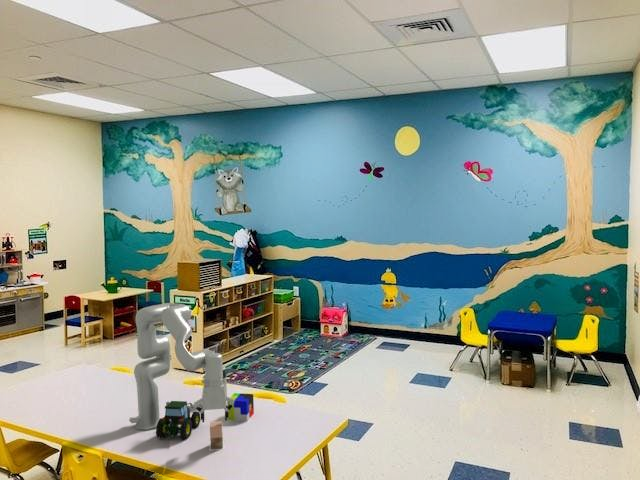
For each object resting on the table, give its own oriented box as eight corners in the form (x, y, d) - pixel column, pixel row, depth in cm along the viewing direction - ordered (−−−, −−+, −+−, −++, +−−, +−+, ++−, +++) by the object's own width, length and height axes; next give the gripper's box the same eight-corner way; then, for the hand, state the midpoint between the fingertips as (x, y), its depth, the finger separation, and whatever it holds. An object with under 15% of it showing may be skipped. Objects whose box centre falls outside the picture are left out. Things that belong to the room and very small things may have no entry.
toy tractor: (202, 424, 255) (201, 394, 253) (184, 444, 233) (182, 411, 232) (175, 422, 257) (173, 393, 256) (154, 443, 236) (152, 410, 235)
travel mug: (229, 398, 287) (228, 366, 286) (224, 403, 279) (222, 370, 278) (215, 397, 289) (214, 365, 287) (209, 403, 281) (208, 370, 280)
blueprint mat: (197, 456, 222) (197, 454, 222) (199, 443, 234) (198, 442, 234) (230, 452, 224) (230, 451, 224) (230, 440, 236) (230, 439, 236)
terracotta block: (210, 438, 226) (209, 427, 225) (210, 433, 231) (210, 422, 230) (222, 437, 227) (221, 425, 226) (222, 432, 231) (221, 421, 231)
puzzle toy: (247, 421, 256) (246, 401, 256) (227, 420, 258) (227, 400, 258) (253, 413, 266) (253, 394, 265) (235, 412, 268) (234, 393, 267)
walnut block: (210, 449, 226) (210, 438, 226) (211, 444, 231) (210, 433, 231) (222, 448, 227) (222, 437, 227) (222, 443, 232) (222, 432, 231)
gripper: (192, 386, 222) (193, 425, 223) (234, 384, 225) (234, 422, 226) (194, 380, 229) (194, 418, 231) (234, 377, 232) (234, 415, 234)
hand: (214, 420), depth 229 cm, fingers open, 9 cm apart
